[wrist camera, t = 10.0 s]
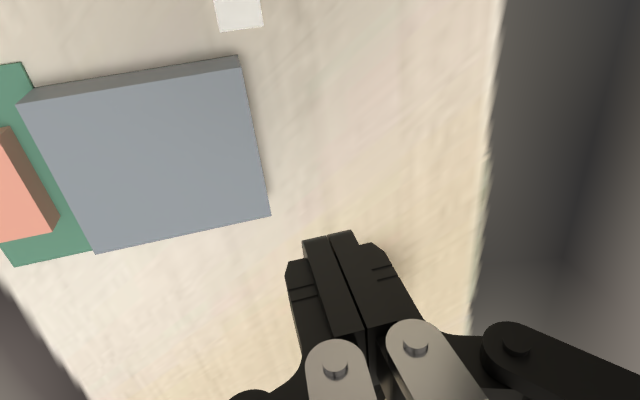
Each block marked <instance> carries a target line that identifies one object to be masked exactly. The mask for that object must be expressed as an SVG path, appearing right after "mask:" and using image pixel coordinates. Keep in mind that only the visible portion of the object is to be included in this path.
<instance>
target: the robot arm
mask: <svg viewBox="0 0 640 400" xmlns="http://www.w3.org/2000/svg"><path fill="white" fill-rule="evenodd" d="M302 249H303V255H304V258H303V259H298V260H294V261H290V262H288V265H287V269H286V272H285V275H284V276H285V281H286V286H287V291H288V296H289V301H290V307H291V312H292V316H293V320H294V324H295V328H296V333H297V337H298V341H299V345H300V350H301V354H302V360H301V363H300V366H299V368H298V370H297V371H296V373H295V374H294V375H293V377H291V378H290V379H289V380H288V381H287V382H286V383H284V384H283V385H281V386H280V387H278V388H277V389H275V390H274V391H272V392H271V393H268V392H266V391H263V390H257V389H254V390H247V391H243V392H241V393H238V394H237V395H235V396H233V397H232V398H231V399H229V400H377V398H376V394H375V391H374V387H373V386H375V385H379V384H380V385H381V387H382V390H383V392H384V395H385V397H386V400H640V375H638V374H636V373H634V372H631V371H629V370H627V369H624V368H622V367H620V366H617V365H615V364H613V363H611V362H608V361H606V360H604V359H601V358H599V357H597V356H594V355H592V354H590V353H587V352H585V351H583V350H580V349H578V348H576V347H574V346H571V345H569V344H567V343H564V342H562V341H559V340H557V339H555V338H553V337H550V336H548V335H546V334H543V333H541V332H539V331H536V330H534V329H532V328H529V327H527V326H525V325H522V324H520V323H515V322H509V321H508V322H498V323H495V324H493V325H491V326H489V327H488V328H487V329H486V331H485V332H484V335H483V336H462V335H451V334H447V333H444V332H441V331H439V329H437V328H436V327H435V326H434V325H432V324H430V323H428V322H426V321H425V320H424V319H423V317H422V316H421V314H420V313H419V311H418V309H417V307H416V306H415V304H414V302H413V300H412V299H411V297H410V295H409V294H408V292H407V290H406V288H405V287H404V285H403V283H402V281H401V280H400V278H399V277H398V274H397V273H396V271H395V269H394V267H392V264H391V262H390V261H389V259H388V257H387V255H386V254H385V252H384V251H383V250H381V249H380V248H379V247H377V246H376V245H374V244H373V243H372V242H371V243H366V244H362V245H359V244H358V242H357V240H356V238H355V236H354V234H353V232H352V231H351V230H346V231H342V232H338V233H333V234H329V235H327V237H326V236H320V237H316V238H312V239H307V240H303V241H302Z"/></svg>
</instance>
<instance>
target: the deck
mask: <svg viewBox="0 0 640 400" xmlns="http://www.w3.org/2000/svg"><path fill="white" fill-rule="evenodd" d="M15 106H16V108H17V110H18V112H19V114H20V116H21V118H22V119H23V121H24V123H25V125H26V127H27V129H28V131H29V132H30V134H31V136H32V138H33V140H34V142H35V144H36V145H37V147H38V149H39V151H40V153H41V155H42V157H43V158H44V160H45V162H46V164H47V166H48V168H49V170H50V172H51V173H52V175H53V177H54V179H55V181H56V183H57V185H58V186H59V188H60V190H61V192H62V194H63V196H64V198H65V199H66V201H67V203H68V205H69V207H70V209H71V211H72V212H73V214H74V216H75V218H76V220H77V222H78V224H79V225H80V227H81V229H82V231H83V233H84V235H85V237H86V238H87V240H88V242H89V244H90V246H91V248H92V250H93V251H94V253H95V255H96V254H101V253H105V252H110V251H114V250H119V249H123V248H128V247H132V246H137V245H141V244H146V243H151V242H155V241H160V240H164V239H169V238H173V237H178V236H182V235H187V234H191V233H196V232H201V231H205V230H210V229H214V228H219V227H223V226H228V225H232V224H237V223H241V222H246V221H250V220H255V219H260V218H264V217H269V216H272V215H271V210H270V205H269V200H268V196H267V191H266V186H265V181H264V176H263V171H262V166H261V161H260V156H259V152H258V147H257V142H256V137H255V132H254V127H253V122H252V117H251V113H250V108H249V103H248V98H247V93H246V88H245V83H244V78H243V73H242V69H241V65H240V61H239V58H238V55H234V56H228V57H222V58H215V59H209V60H203V61H197V62H191V63H184V64H178V65H172V66H166V67H160V68H153V69H147V70H141V71H135V72H129V73H123V74H116V75H110V76H104V77H98V78H92V79H85V80H79V81H73V82H67V83H61V84H54V85H48V86H42V87H36V88H33V89H32V90H31V91H30V92H29V93H27V94H26V95H25V96H24V97H23V98H22V99H21V100H20V101H18V102H17V103H16V104H15Z"/></svg>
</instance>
